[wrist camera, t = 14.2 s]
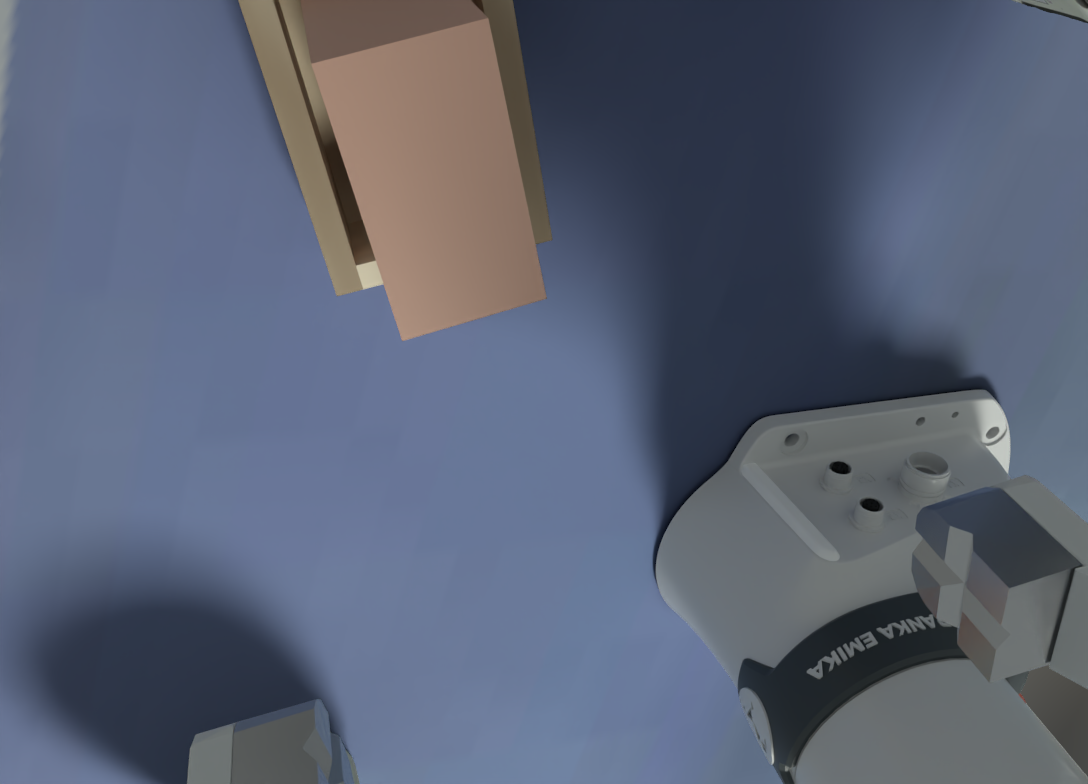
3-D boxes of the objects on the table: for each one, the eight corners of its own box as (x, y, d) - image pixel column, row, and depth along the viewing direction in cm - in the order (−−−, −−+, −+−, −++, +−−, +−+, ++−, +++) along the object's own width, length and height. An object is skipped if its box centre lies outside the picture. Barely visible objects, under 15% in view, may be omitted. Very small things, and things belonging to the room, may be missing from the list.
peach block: (419, -52, 32) (488, 18, 22) (471, 163, 36) (546, 298, 27) (296, -21, 31) (311, 63, 21) (364, 192, 36) (402, 340, 26)
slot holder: (466, -124, 31) (494, -113, 28) (524, 196, 38) (552, 240, 35) (225, -74, 30) (220, -54, 27) (329, 246, 37) (336, 296, 34)
